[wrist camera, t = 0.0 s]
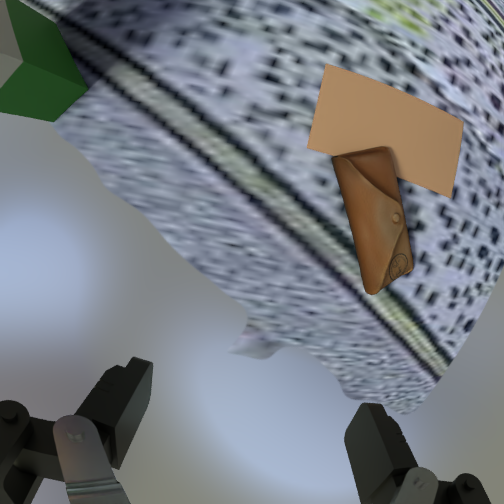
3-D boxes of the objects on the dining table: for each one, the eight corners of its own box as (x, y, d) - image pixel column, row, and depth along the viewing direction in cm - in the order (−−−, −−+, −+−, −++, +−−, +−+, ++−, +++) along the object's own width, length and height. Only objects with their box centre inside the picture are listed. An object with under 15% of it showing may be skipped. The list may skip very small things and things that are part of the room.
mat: (325, 64, 33) (326, 63, 33) (462, 122, 34) (463, 122, 34) (306, 148, 36) (306, 147, 36) (449, 198, 37) (450, 198, 36)
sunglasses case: (417, 271, 38) (415, 293, 33) (371, 277, 43) (362, 299, 37) (387, 141, 35) (381, 142, 29) (339, 154, 39) (324, 158, 34)
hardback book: (25, 53, 32) (-71, 17, 9) (55, 23, 31) (-36, -29, 8) (53, 122, 35) (-73, 103, 12) (88, 89, 34) (-34, 40, 11)
